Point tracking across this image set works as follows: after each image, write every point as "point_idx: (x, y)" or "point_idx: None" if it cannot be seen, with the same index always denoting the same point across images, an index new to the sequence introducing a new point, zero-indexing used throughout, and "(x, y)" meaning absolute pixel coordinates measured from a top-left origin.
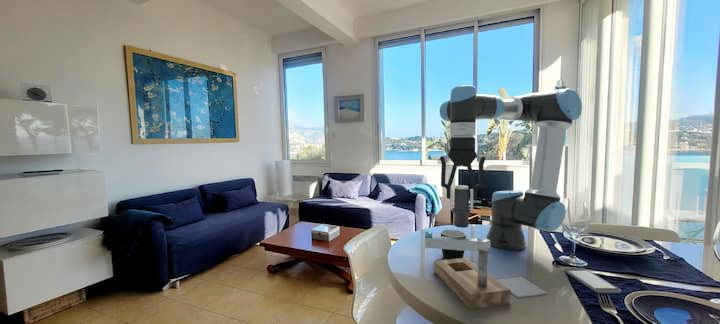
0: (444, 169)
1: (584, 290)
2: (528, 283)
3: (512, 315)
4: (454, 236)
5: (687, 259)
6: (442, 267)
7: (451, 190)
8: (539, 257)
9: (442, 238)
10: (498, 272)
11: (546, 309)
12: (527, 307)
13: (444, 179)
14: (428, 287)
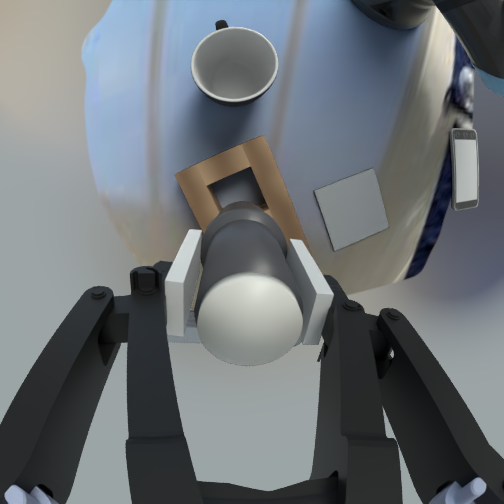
0: (74, 445)
1: (442, 204)
2: (374, 196)
3: None
4: (243, 38)
5: None
6: (194, 211)
7: (174, 331)
8: (433, 69)
9: (178, 340)
10: (334, 144)
11: (362, 274)
12: (337, 275)
13: (103, 377)
14: (171, 245)
